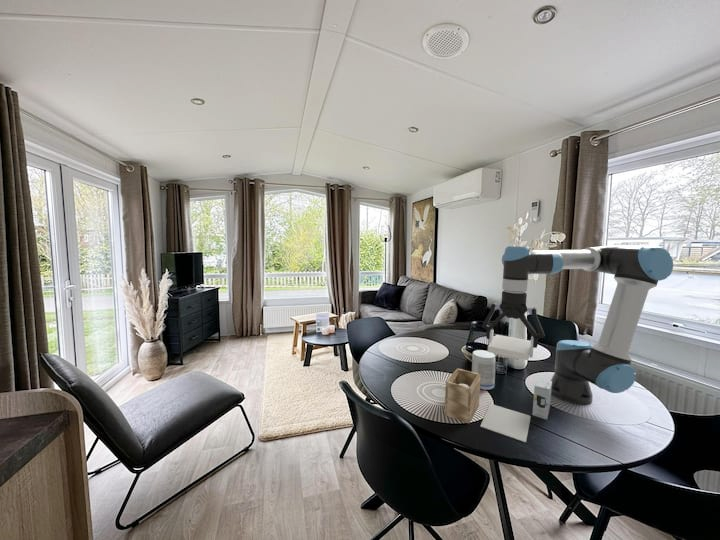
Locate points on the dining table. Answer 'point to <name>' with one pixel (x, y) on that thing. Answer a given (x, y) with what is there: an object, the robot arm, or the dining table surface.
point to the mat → (506, 422)
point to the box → (462, 395)
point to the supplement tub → (484, 368)
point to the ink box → (542, 398)
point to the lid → (510, 347)
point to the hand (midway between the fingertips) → (510, 352)
